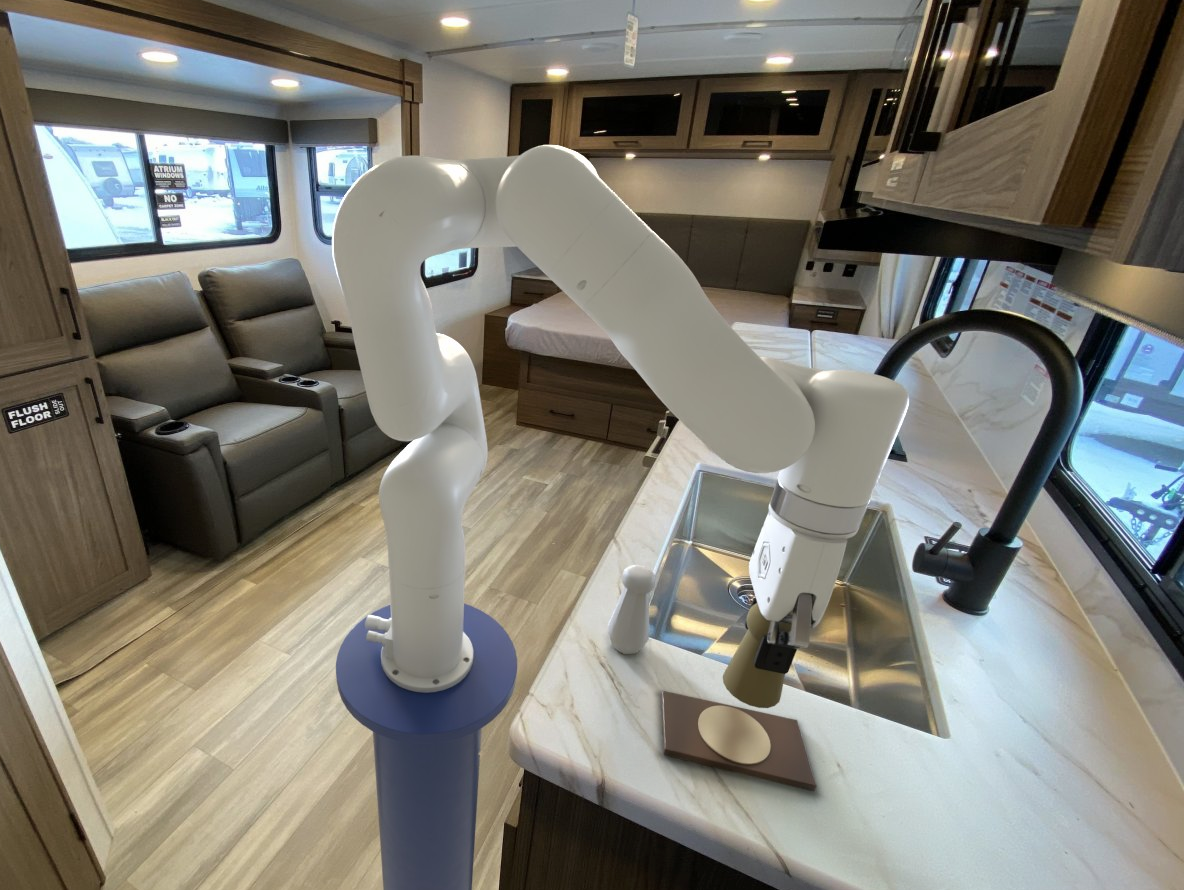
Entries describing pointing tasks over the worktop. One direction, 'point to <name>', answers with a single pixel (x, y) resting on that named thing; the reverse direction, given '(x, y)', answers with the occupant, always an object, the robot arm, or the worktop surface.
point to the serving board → (735, 740)
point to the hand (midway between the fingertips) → (764, 647)
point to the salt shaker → (632, 611)
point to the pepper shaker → (743, 675)
